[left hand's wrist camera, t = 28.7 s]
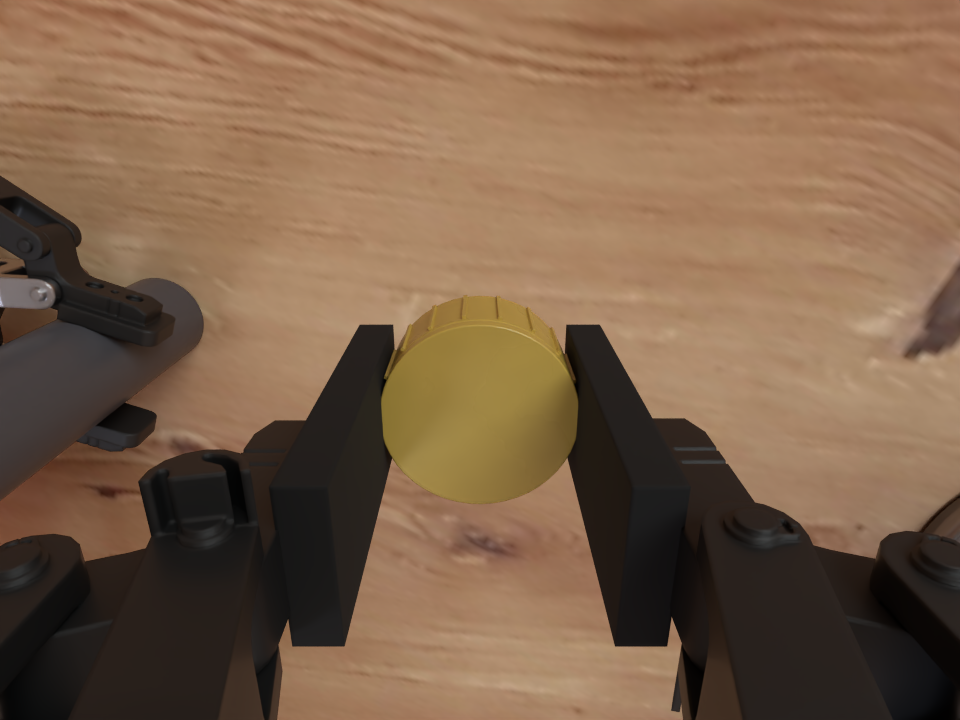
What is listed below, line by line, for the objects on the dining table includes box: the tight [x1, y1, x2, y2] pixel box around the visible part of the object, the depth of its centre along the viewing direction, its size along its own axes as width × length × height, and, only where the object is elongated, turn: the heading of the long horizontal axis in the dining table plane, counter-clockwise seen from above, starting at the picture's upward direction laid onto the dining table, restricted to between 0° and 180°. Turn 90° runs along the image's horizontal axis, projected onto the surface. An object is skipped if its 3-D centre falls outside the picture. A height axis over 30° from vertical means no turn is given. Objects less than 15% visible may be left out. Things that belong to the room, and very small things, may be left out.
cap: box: [381, 295, 578, 504], centre depth 13 cm, size 4×4×2 cm
